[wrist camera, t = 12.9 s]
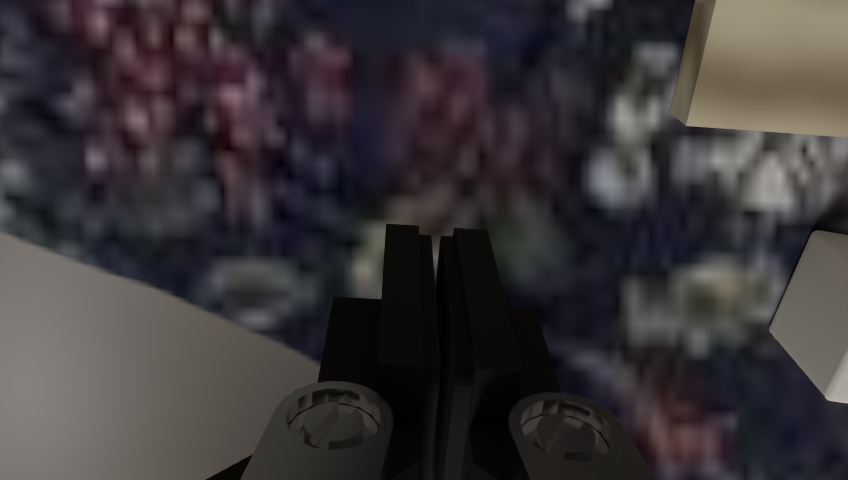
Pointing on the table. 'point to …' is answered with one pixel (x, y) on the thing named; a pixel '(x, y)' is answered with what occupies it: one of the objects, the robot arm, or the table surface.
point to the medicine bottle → (818, 314)
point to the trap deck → (766, 67)
